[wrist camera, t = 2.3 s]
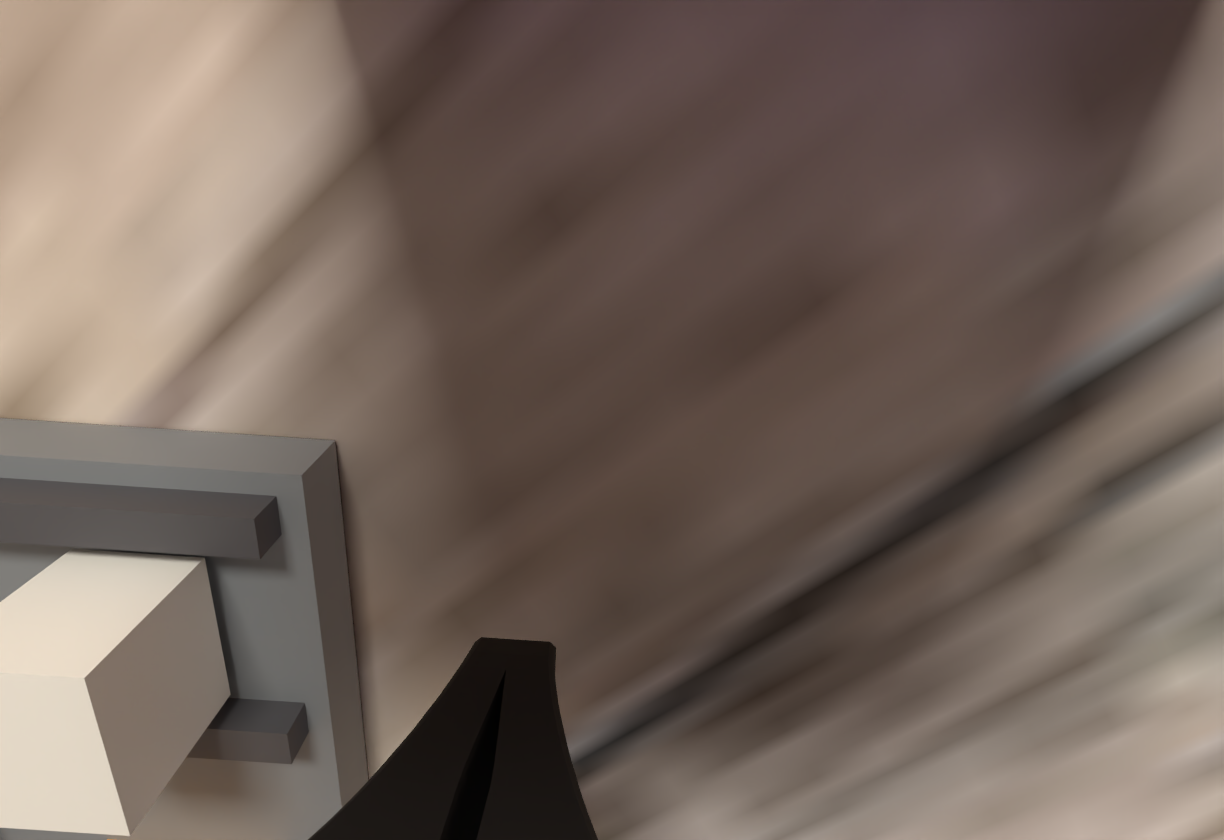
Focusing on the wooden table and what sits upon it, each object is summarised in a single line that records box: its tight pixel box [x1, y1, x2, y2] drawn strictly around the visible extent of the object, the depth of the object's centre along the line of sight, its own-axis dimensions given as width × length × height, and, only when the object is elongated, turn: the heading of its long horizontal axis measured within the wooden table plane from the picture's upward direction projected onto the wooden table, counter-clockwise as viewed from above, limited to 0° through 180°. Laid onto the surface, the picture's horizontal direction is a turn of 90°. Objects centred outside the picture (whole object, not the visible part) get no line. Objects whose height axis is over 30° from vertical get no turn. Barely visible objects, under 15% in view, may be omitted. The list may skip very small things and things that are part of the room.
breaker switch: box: [0, 549, 231, 836], centre depth 12 cm, size 3×2×3 cm
